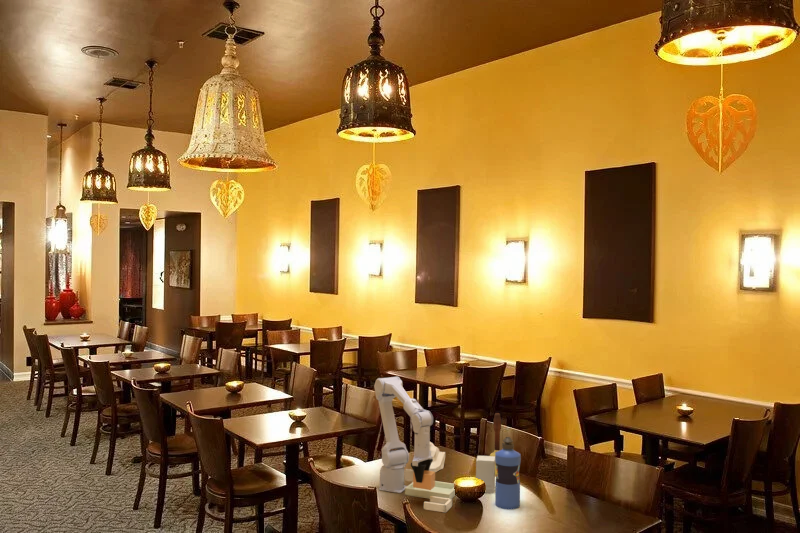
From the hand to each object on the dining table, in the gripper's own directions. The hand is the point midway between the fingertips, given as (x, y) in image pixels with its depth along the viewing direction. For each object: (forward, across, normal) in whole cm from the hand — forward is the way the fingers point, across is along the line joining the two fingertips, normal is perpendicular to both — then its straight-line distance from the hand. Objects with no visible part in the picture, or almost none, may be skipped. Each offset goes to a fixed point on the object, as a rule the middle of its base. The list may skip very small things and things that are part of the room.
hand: (421, 480), depth 246 cm
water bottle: (+8, +11, -30) cm, 33 cm away
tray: (+8, +12, 0) cm, 14 cm away
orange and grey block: (+2, 0, +1) cm, 3 cm away
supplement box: (+9, +24, -18) cm, 31 cm away
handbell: (+9, +50, -16) cm, 53 cm away
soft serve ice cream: (+9, +40, +12) cm, 43 cm away
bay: (+8, -2, -7) cm, 11 cm away
